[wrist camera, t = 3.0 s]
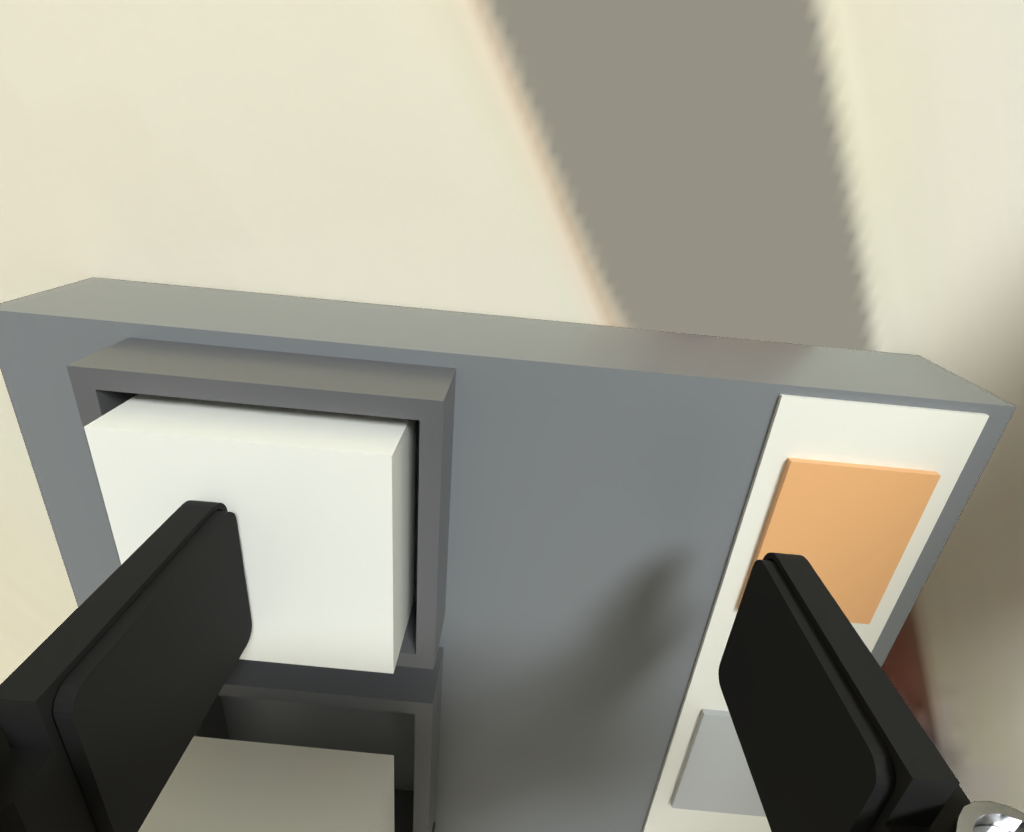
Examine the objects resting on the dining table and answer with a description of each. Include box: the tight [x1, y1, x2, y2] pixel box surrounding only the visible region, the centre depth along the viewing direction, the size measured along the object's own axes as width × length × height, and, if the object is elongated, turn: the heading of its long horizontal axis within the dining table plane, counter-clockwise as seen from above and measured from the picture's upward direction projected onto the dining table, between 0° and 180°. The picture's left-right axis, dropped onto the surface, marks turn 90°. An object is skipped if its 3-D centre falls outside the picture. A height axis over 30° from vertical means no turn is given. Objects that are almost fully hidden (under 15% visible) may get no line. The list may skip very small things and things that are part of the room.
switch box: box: [0, 277, 1016, 832], centre depth 16 cm, size 20×22×5 cm
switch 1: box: [84, 394, 416, 674], centre depth 11 cm, size 5×5×2 cm
